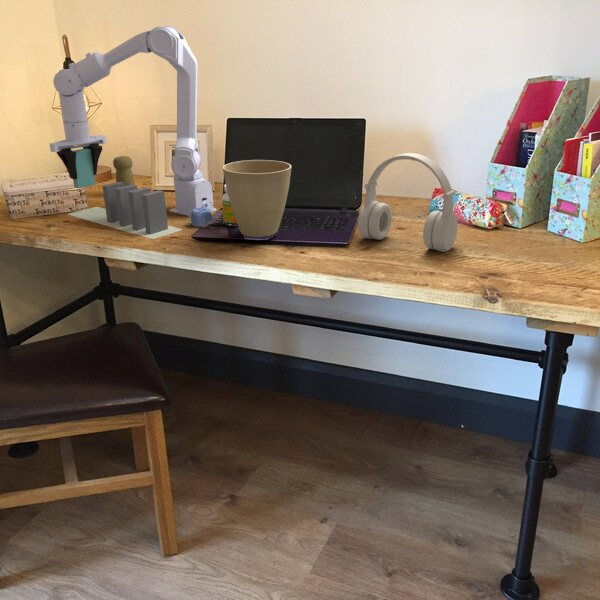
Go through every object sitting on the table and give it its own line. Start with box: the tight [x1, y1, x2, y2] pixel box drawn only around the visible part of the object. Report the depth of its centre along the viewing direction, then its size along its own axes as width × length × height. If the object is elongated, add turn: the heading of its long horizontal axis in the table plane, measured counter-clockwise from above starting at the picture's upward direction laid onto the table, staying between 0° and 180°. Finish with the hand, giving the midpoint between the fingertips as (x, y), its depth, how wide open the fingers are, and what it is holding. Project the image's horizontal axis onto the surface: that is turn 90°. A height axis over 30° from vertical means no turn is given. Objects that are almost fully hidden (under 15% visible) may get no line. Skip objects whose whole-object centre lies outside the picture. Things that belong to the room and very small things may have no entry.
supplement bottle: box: [221, 183, 237, 223], centre depth 156 cm, size 5×5×10 cm
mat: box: [66, 206, 184, 240], centre depth 161 cm, size 34×9×1 cm, turn 50°
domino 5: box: [142, 189, 169, 234], centre depth 152 cm, size 2×5×9 cm, turn 140°
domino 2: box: [102, 181, 125, 223], centre depth 161 cm, size 2×5×9 cm, turn 140°
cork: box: [112, 155, 136, 186], centre depth 184 cm, size 6×6×11 cm
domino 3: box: [115, 184, 138, 227], centre depth 158 cm, size 2×5×9 cm, turn 140°
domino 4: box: [128, 186, 152, 231], centre depth 155 cm, size 2×5×9 cm, turn 140°
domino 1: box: [72, 148, 96, 189], centre depth 165 cm, size 2×5×9 cm, turn 140°
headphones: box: [357, 152, 459, 253], centre depth 139 cm, size 20×8×19 cm, turn 56°
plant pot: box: [222, 159, 292, 237], centre depth 146 cm, size 15×15×16 cm
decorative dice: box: [189, 208, 214, 228], centre depth 157 cm, size 4×4×4 cm
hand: (83, 176), depth 166 cm, fingers closed on domino 1, 5 cm apart
